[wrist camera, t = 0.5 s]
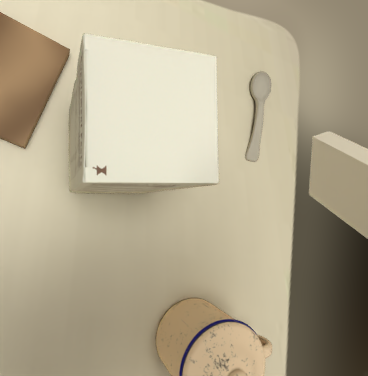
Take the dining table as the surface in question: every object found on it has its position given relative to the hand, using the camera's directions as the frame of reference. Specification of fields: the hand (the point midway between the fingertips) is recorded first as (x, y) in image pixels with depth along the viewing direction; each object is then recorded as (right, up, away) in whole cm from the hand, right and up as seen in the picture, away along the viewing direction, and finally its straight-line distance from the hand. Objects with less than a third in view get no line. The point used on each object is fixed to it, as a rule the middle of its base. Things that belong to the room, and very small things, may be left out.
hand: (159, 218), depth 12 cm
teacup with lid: (+3, -16, +28) cm, 33 cm away
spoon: (+10, +11, +32) cm, 35 cm away
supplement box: (-7, +5, +25) cm, 26 cm away
